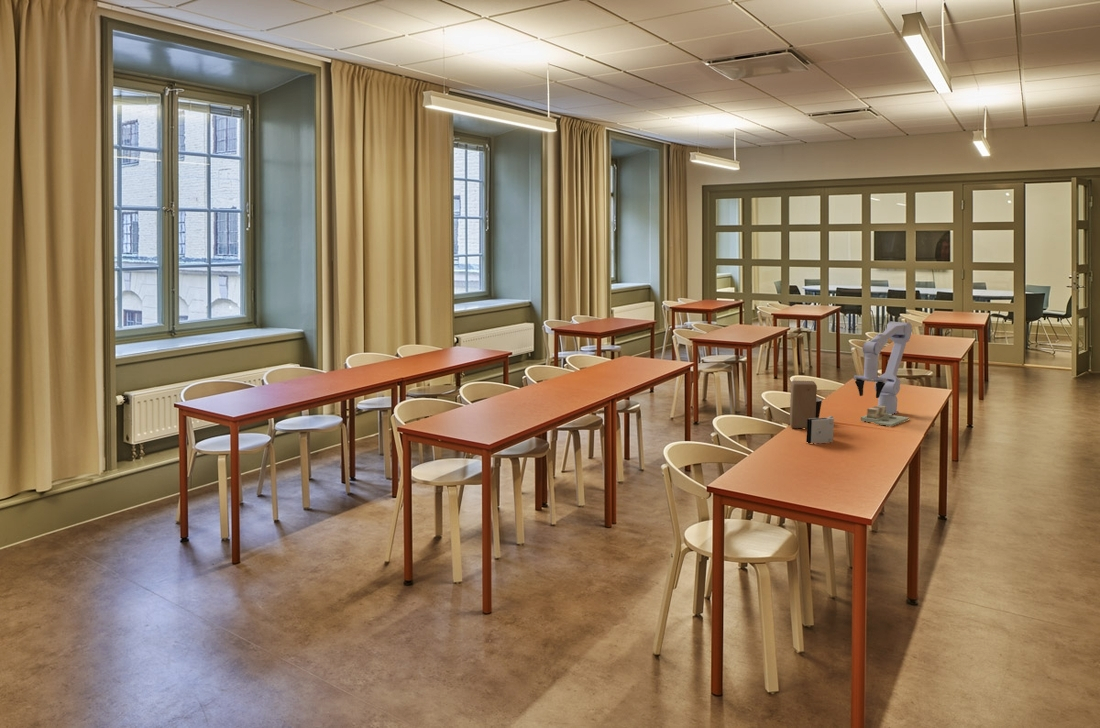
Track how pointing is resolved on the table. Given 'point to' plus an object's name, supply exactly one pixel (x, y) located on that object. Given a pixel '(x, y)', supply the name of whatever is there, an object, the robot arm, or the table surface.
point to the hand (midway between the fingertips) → (869, 396)
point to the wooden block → (802, 403)
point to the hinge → (820, 430)
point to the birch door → (876, 412)
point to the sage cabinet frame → (886, 420)
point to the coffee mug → (818, 407)
